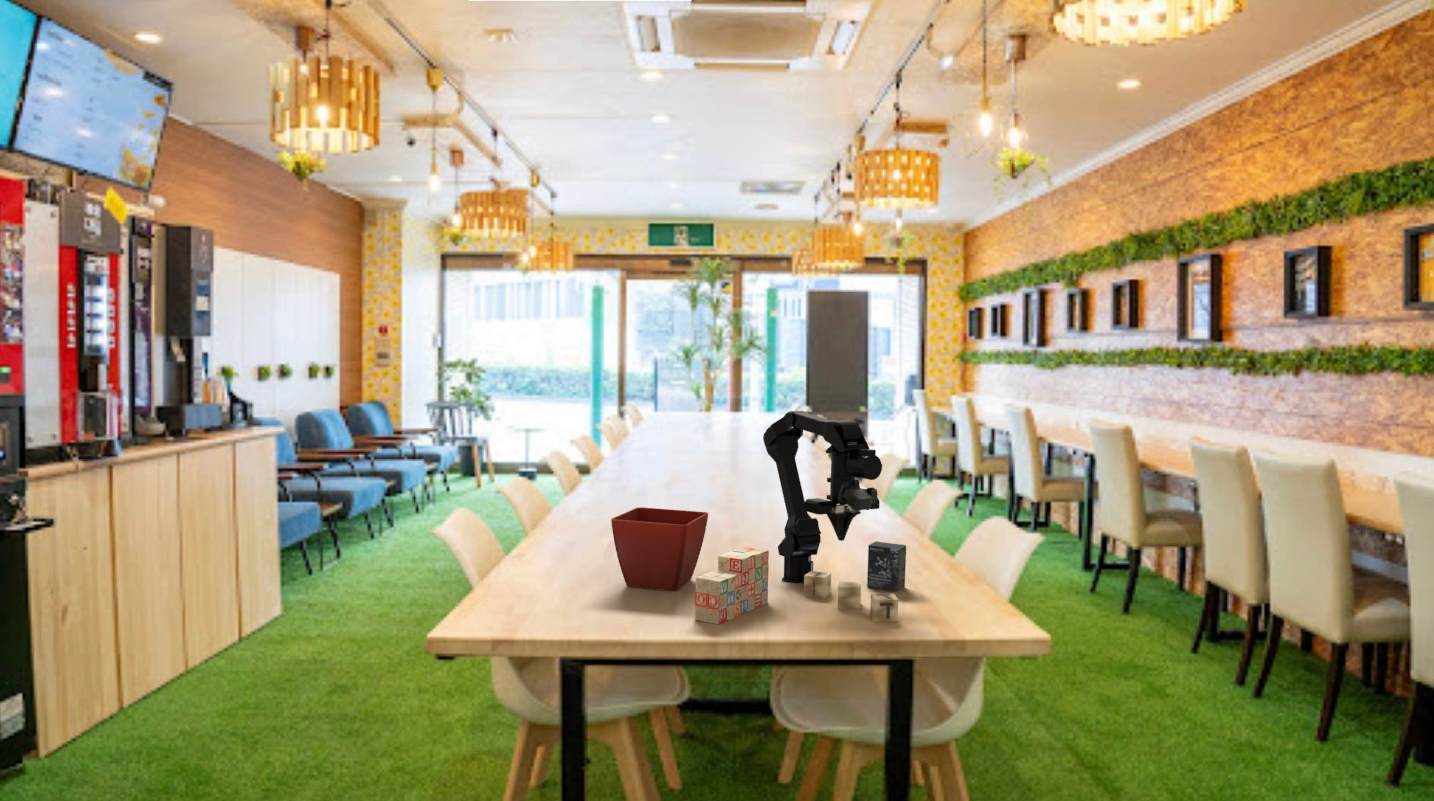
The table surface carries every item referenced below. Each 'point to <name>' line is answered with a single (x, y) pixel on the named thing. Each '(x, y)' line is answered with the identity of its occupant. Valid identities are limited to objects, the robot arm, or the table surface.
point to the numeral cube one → (817, 584)
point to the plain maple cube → (849, 595)
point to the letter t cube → (884, 607)
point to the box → (886, 566)
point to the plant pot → (658, 546)
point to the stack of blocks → (733, 586)
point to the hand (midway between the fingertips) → (841, 540)
